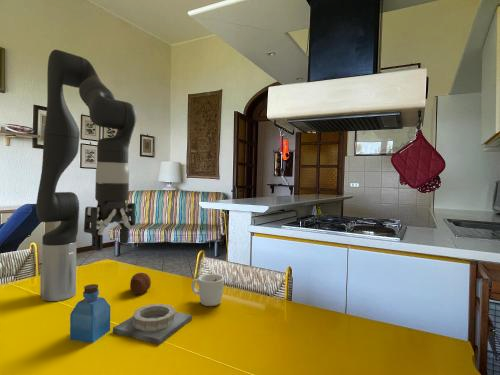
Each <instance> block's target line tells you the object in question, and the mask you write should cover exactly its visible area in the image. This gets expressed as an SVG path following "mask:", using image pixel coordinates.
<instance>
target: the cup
mask: <svg viewBox="0 0 500 375" xmlns="http://www.w3.org/2000/svg"><path fill="white" fill-rule="evenodd" d="M224 281H225V278H224V276H223V275H220V274H217V273H216V274H215V273H208V274H203V275H200V276H199V277H197V278H195V279H193V280H192V281H191V289H192V292H193V294H196V295H198V296H199V301H200V303H201V305H202V306H205V307H206V306H207V307H214V306H218V305H219V304H220V303H221V302H222V299H223V291H224V283H225V282H224ZM196 283H197V285H198V290H197V289H196Z"/></svg>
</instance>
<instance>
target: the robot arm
mask: <svg viewBox="0 0 500 375" xmlns="http://www.w3.org/2000/svg"><path fill="white" fill-rule="evenodd" d="M46 79H47V81H46V82H47V84H46V87H47V89H46V90H47V96H46V97H47V99H46V100H47V104H46V114H45V123H44V131H43V132H44V133H43V145H42V147H43V148H42V163H41V164H42V165H41V174H40V179H39V180H40V181H39V186H38V191H37V195H36V196H37V198H36V204H35V205H36V206H35V209H36V211H35V213H36V217H37V219H38V221H40V222H41V223H55V222H60V224H59V225H58V226H57V227H56V228H54V229H53V230H50V231H47V232H46V233H44V234H43V236H42V238H41V239H42V240H41V241H42V242H41V243H42V248H41V250H42V253H41V254H42V255H41V256H42V261H41V262H42V265H41V267H40V289H39V290H40V293H39V294H40V297H41V299H42V300H43V301H45V302H58V301H59V302H60V301H64V300H68V299H70V298H73V297H75V295H76V294H77V238H78V233H79V218H80V200H79V198H78V195H77V194H76V193H74V192H71V191H62V192H61V191H58V192H57V185H58V182H59V180H60V178H61V177H62V175H63V173H64V172H65V171H66V170H67V169H68V167H69V166H70V165H71V164H72V162H73V161H74V160H75V158H76V156H77V155H78V152H79V147H80V146H79V145H80V137H81V134H80V132H81V131H80V128H79V126H78V124H77V122H76V120H75V118H74V116H73V115H72V113H71V111H70V110H69V107H68V105H67V102H66V99H65V95H64V85H65V86H69V87H71V88H72V87H73V88H77V89H78V93H79V97H80V99H81V100H82V102H83V103H84V104H85V105H86V106H87V109H88V111H89V119H90V121H91V122H92V123H93V124H94V125H95V126H98V127H99V128H100V127H101V128H106V129H114V130H117V131H116V133H115V135H114V136H113V137H103V138H99V140H98V141H97V146H96V149H97V150H96V152H97V153H96V161H97V162H96V168H95V192H94V194H95V195H94V196H95V200H96V201H97V204H96V206H85V208H84V209H85V210H84V224H83V232H84V233H87V234H91V247H92V250H93V251H98V252H100V251H102V250H103V247H104V246H103V245H104V244H103V241H104V240H103V239H104V236H103V233H104V231H105V229H106V228H107V227H108V226H109V225H110V224H113V223H114V222H115V223H117V224H118V226H119V227H120V228H119V244H128V242H129V238H130V228H131V227H132V226H135V225H136V204H135V203H134V202H126V201H128V200H129V195H130V194H129V192H130V190H129V188H130V184H129V183H130V169H129V148H130V144H131V139H132V137H133V136H132V135H133V132H134V129H135V127H136V123H137V121H138V120H137V119H138V117H137V116H138V114H137V111H136V108H135V107H134V105H133V103H130V102H127V101H123V100H118V99H117V98H116V96H115V95H114V94H113V92H112V91H111V90H110V89H109V88H108V87H107V86H106V85H104V83H103V82H102V81H101V78H99V75H98V74H97V72H96V69H95V68H94V66H93V64H92V63H91V62H90V61H89V60H88V59H87V58H84V57H82V56H79V55H76V54H74V53H69V52H67V51H63V50H61V49H53V50H52V51H51V52H50V54H49V56H48V61H47V78H46Z"/></svg>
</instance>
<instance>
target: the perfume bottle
mask: <svg viewBox="0 0 500 375" xmlns="http://www.w3.org/2000/svg"><path fill="white" fill-rule="evenodd" d="M83 290H84V291H83V292H82V296H83V298H84V299H82V300H80V301H77V302H76V304H75V306H74V307H73V309H72V310H71V312H70V313H69V314H70V316H69V317H70V318H69V319H70V320H69V340H70V341H77V342H82V343H83V342H84V343H90V344H94V343H96V342H97V341H98V340H99V339H101V338H102V337H104V336H105V335H106V334H107V333H109V332H110V331H111V305H110V304H109V302H108V301H107V300H106V299H105V297H102V296H99V295H100V289H99V284H97V283H95V284H93V283H92V284H91V283H90V284H87V285H85V286H84V287H83Z"/></svg>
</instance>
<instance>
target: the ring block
mask: <svg viewBox="0 0 500 375" xmlns="http://www.w3.org/2000/svg"><path fill="white" fill-rule="evenodd" d="M192 318H193V315H192V314H189V313H184V312H178V311H176V308H174V307H173V306H172V305H170V304H164V303H155V304H153V303H152V304H148V305H143V306H141V307H139V308H137V309H135V310H134V312H133V314H132V316H131V317H129V318H127V319H126V320H124V321H122V322H120V323H119V324H117V325H115V326H113V327H112V333H114V334H117V335H120V336H126V337H128V338H129V337H130V338H133V339H137V340H141V341H145V342H147V343H153V344H156V345H161V344H162V343H163V342H165V341H166V340H168V339H169V338H170V337H172V336H173V335H174V334H176V333H177V331H180V329H182V328H183V327H184V326H185V325H186V324H188V323H190V322H191V321H192V320H193V319H192Z"/></svg>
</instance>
